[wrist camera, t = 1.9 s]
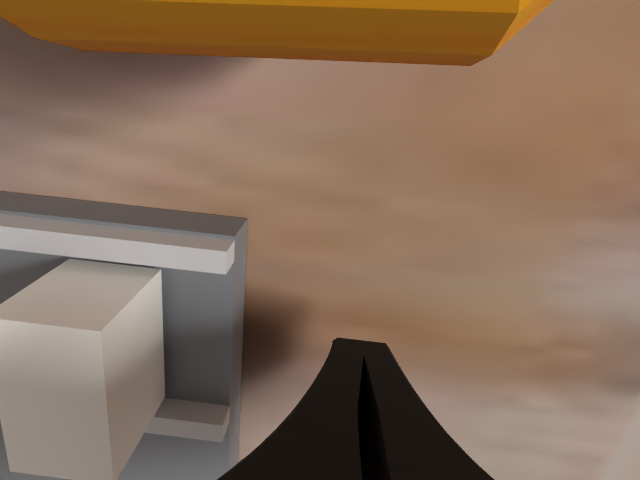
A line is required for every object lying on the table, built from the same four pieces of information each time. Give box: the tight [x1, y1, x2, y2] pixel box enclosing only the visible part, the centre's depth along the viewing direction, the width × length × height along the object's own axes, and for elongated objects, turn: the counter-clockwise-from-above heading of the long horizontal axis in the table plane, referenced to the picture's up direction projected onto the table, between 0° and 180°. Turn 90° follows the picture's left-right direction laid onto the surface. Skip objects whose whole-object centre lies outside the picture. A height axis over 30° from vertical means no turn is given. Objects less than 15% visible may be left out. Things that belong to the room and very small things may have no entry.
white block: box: [0, 259, 165, 480], centre depth 11 cm, size 4×2×3 cm, turn 175°
